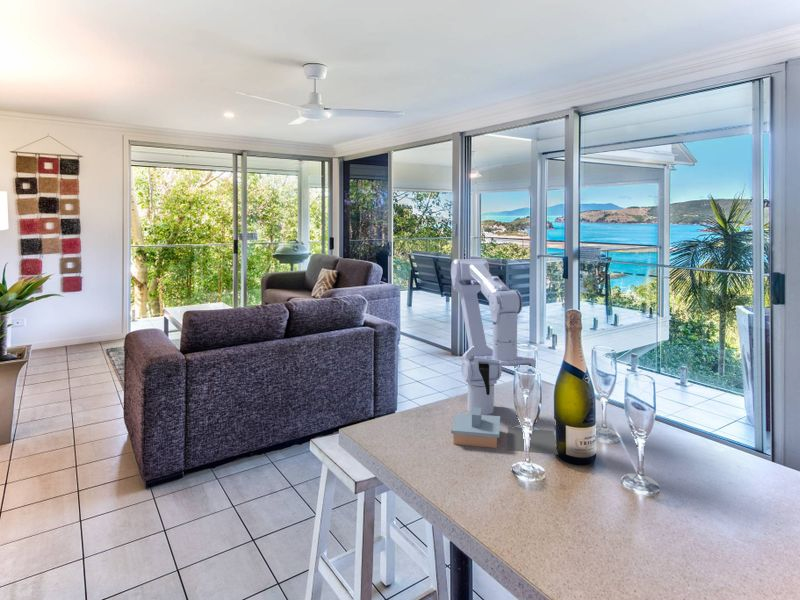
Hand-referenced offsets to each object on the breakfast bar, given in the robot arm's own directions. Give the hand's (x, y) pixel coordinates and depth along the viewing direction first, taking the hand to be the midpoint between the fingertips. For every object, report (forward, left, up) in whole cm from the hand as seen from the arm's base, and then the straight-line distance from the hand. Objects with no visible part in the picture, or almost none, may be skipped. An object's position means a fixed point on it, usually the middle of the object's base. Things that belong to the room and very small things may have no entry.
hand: (504, 394), depth 121 cm
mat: (+3, +7, -10) cm, 13 cm away
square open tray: (+4, -6, -10) cm, 13 cm away
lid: (+4, -6, -7) cm, 10 cm away
